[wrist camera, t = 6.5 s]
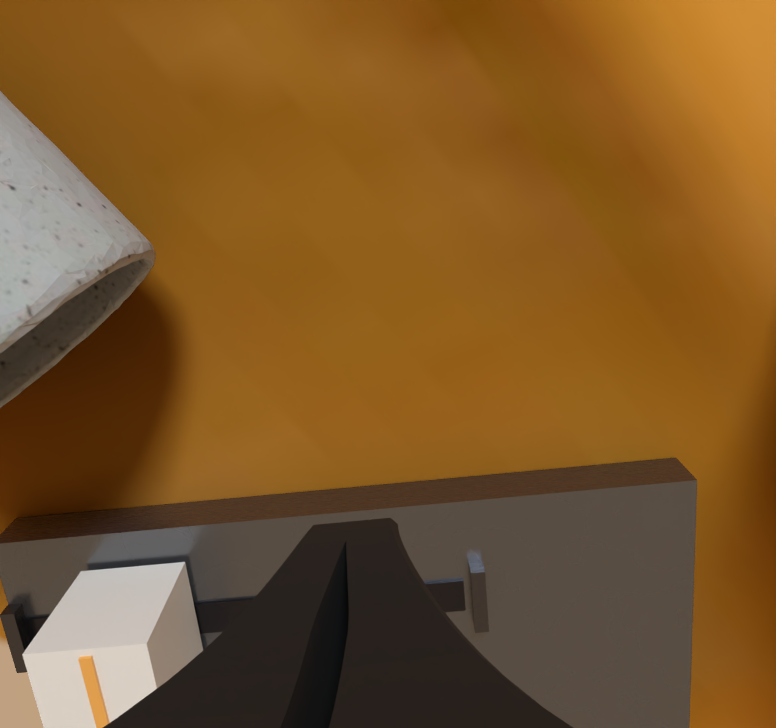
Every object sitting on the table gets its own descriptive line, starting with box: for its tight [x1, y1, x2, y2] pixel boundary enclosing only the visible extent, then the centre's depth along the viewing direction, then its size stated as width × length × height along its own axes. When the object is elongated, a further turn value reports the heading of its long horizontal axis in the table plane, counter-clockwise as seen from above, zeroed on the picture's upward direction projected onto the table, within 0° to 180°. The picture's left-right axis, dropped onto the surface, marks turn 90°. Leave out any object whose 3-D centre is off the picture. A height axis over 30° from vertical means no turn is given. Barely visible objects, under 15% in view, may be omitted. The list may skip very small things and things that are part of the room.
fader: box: [22, 562, 203, 728], centre depth 19 cm, size 3×4×4 cm
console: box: [0, 458, 697, 728], centre depth 23 cm, size 20×13×2 cm, turn 96°
